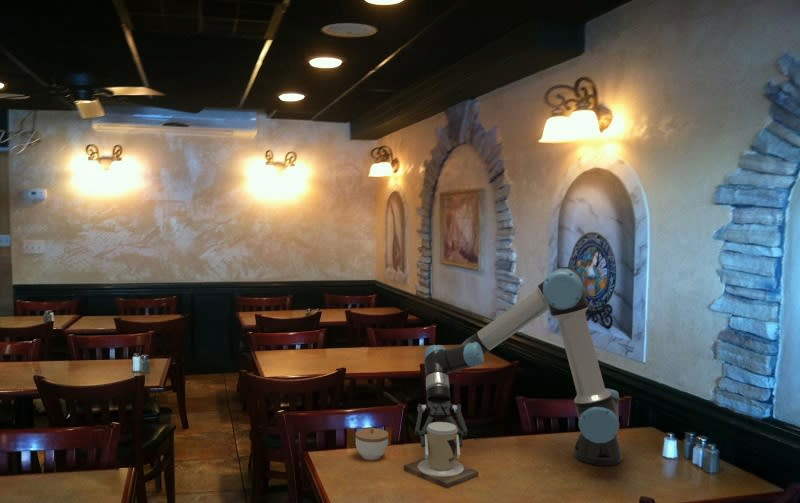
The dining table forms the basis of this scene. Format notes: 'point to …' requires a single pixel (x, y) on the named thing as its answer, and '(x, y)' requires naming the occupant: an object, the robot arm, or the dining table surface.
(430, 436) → the coffee cup
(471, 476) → the serving board
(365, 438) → the lidded jar
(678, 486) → the dining table surface
